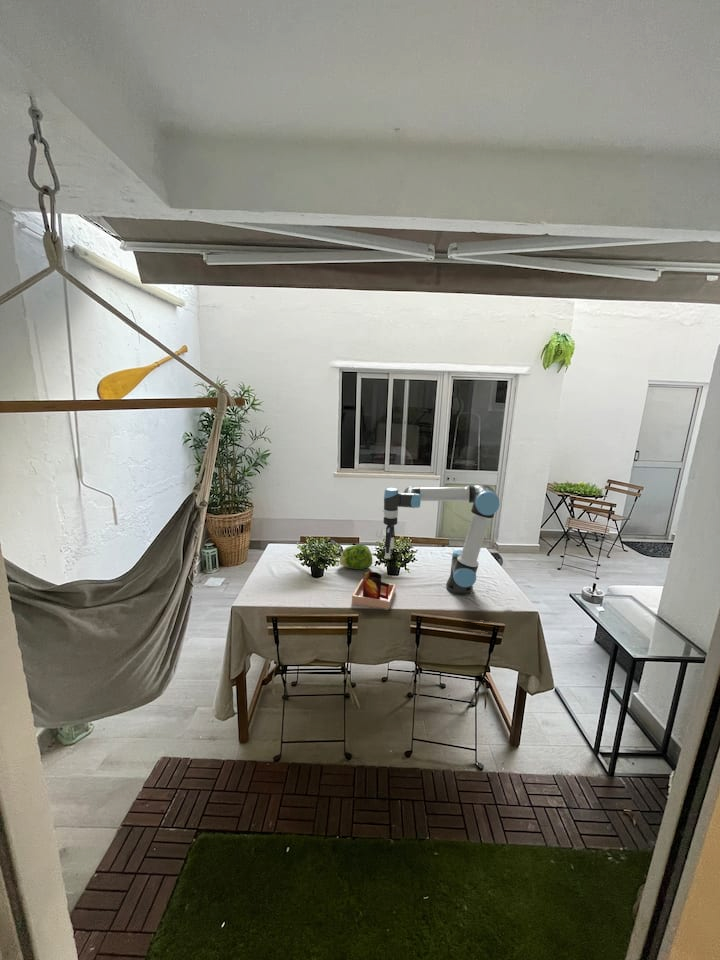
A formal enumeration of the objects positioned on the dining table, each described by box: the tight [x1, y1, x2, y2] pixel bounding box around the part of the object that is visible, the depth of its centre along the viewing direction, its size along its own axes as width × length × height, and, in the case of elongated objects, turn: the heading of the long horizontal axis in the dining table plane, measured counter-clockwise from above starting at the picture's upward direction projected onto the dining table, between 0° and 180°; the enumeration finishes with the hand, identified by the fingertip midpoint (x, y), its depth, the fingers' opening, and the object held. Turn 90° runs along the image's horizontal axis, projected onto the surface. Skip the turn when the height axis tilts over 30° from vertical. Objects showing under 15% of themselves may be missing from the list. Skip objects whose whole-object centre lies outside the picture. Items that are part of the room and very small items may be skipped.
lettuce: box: [338, 544, 373, 570], centre depth 259 cm, size 16×21×15 cm
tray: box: [351, 578, 397, 611], centre depth 224 cm, size 20×20×5 cm
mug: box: [363, 571, 389, 599], centre depth 223 cm, size 10×14×12 cm
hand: (389, 553), depth 226 cm, fingers open, 13 cm apart
